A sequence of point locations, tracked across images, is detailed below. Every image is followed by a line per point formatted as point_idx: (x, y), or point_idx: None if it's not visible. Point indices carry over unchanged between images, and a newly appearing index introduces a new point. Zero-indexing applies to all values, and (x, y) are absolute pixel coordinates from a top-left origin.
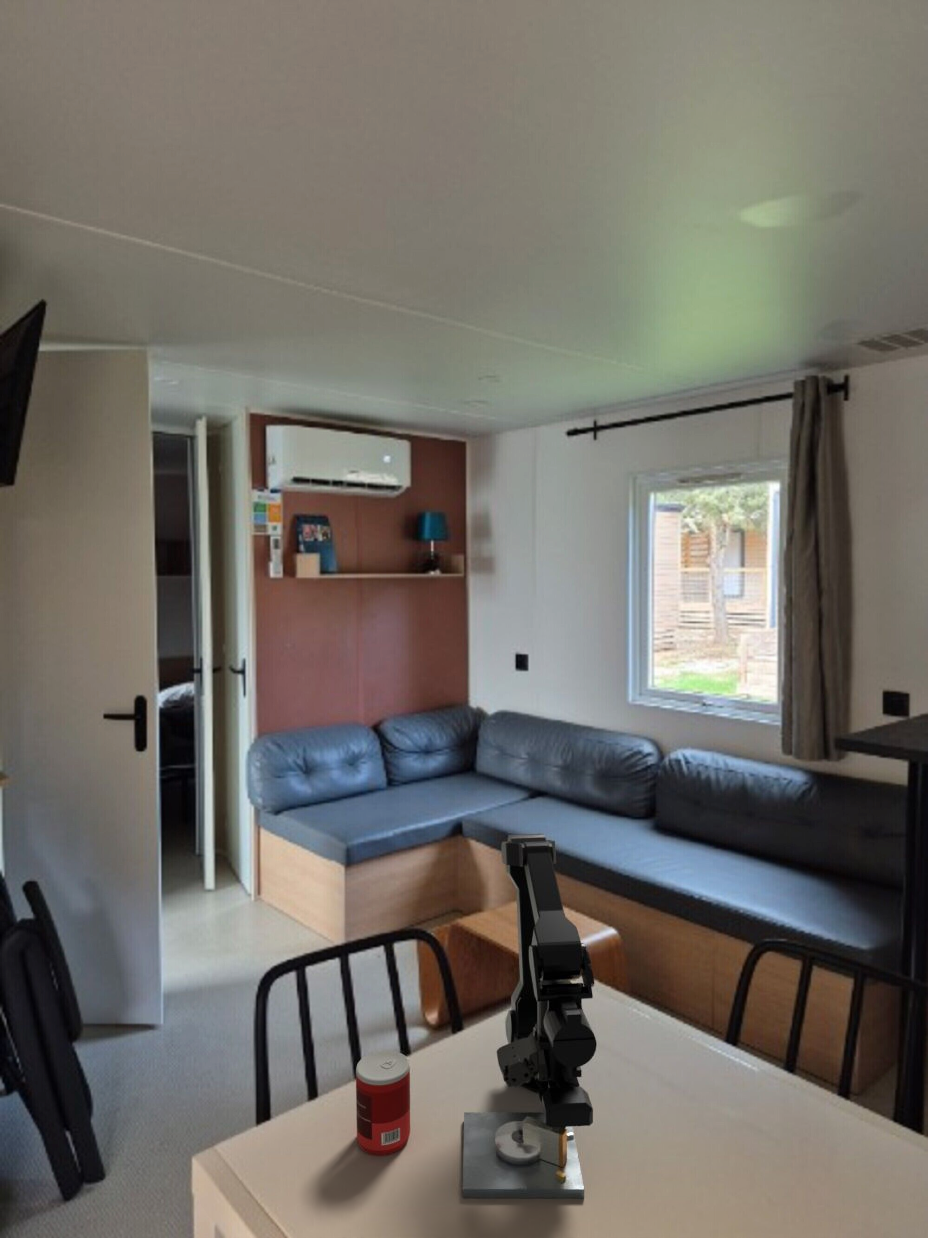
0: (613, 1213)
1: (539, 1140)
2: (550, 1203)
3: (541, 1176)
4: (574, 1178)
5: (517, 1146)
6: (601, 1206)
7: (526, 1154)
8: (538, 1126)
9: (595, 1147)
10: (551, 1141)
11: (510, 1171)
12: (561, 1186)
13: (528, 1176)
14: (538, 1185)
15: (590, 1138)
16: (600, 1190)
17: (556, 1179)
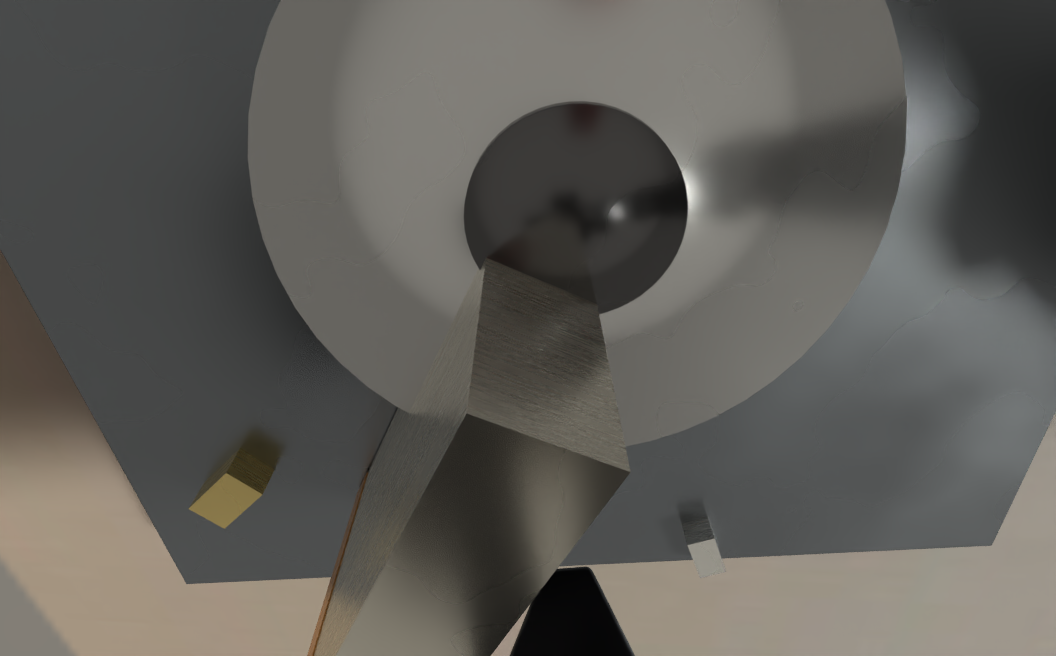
0: (158, 631)
1: (394, 468)
2: None
3: (210, 357)
4: (269, 546)
5: (392, 187)
6: (186, 595)
7: (287, 286)
8: (372, 604)
9: (664, 597)
10: (342, 589)
11: (173, 71)
12: (153, 479)
13: (166, 255)
14: (87, 335)
15: (748, 581)
16: (308, 598)
17: (215, 453)
